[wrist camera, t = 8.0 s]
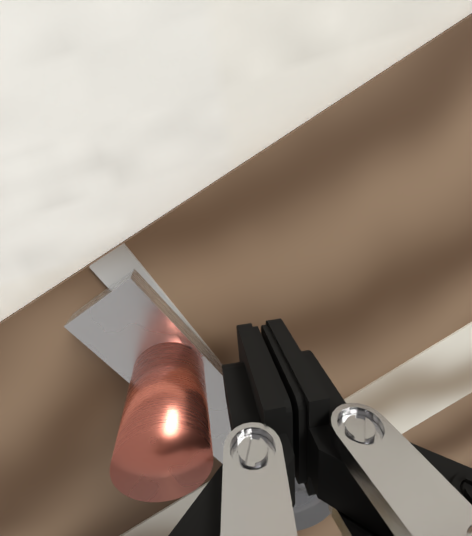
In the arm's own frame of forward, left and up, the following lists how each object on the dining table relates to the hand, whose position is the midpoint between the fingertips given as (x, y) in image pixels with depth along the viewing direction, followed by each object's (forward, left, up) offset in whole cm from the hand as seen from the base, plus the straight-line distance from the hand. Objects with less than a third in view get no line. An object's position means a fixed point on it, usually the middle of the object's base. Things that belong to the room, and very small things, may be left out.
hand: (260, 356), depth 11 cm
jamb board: (-8, +3, -3) cm, 9 cm away
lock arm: (-4, +3, -3) cm, 6 cm away
